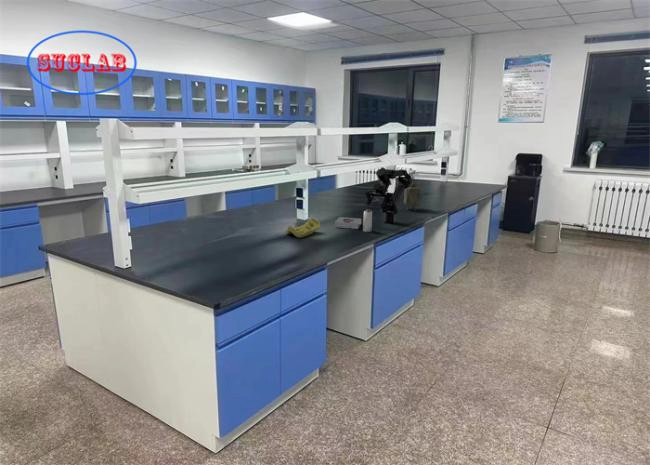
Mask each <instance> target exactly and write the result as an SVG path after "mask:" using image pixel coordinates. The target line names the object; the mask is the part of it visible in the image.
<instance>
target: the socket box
mask: <svg viewBox="0 0 650 465" xmlns="http://www.w3.org/2000/svg"><path fill="white" fill-rule="evenodd" d="M361 225H362V218H359V217H358V218H355V217H343V216H341V217H340V216H339V217H338V218H337V219H336V220H335V221H334V228H337V229H350V228H351V230H359V228H360V227H361Z"/></svg>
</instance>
